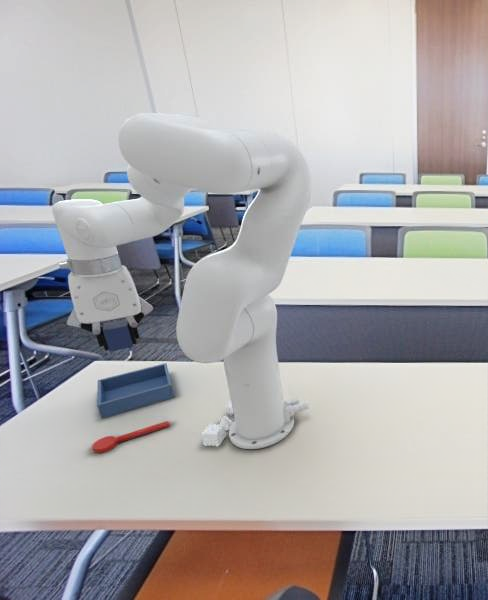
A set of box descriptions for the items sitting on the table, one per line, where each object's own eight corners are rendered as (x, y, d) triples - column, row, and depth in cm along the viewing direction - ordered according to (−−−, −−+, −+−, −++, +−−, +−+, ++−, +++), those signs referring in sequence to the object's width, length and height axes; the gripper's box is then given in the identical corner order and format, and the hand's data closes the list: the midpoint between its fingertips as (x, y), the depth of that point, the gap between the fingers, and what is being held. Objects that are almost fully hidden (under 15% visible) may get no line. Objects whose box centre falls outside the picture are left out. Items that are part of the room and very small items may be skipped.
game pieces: (219, 447, 79) (217, 434, 78) (203, 446, 79) (199, 434, 78) (247, 408, 90) (244, 396, 89) (232, 408, 90) (229, 396, 89)
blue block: (132, 339, 88) (126, 318, 86) (133, 346, 85) (127, 326, 84) (109, 343, 86) (102, 323, 84) (109, 351, 83) (102, 330, 81)
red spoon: (169, 420, 86) (167, 416, 85) (171, 430, 83) (169, 425, 83) (93, 444, 78) (91, 440, 78) (93, 456, 76) (91, 451, 75)
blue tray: (169, 374, 101) (166, 362, 99) (175, 397, 93) (171, 384, 91) (102, 392, 93) (97, 380, 92) (101, 418, 85) (97, 405, 84)
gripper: (35, 277, 71) (68, 364, 78) (150, 263, 81) (169, 341, 88) (39, 265, 76) (70, 348, 83) (146, 253, 86) (165, 328, 93)
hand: (121, 344), depth 86 cm, fingers closed on blue block, 4 cm apart
